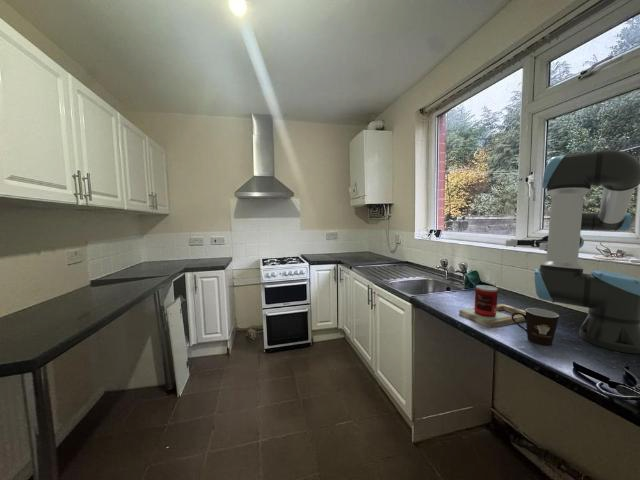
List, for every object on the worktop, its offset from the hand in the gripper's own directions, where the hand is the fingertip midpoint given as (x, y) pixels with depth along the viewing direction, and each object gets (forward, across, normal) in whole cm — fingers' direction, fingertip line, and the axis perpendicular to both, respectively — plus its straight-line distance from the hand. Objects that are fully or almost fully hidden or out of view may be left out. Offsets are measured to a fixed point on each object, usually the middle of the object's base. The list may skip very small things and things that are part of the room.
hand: (522, 244), depth 112 cm
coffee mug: (+21, -19, -30) cm, 41 cm away
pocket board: (+13, 0, -30) cm, 33 cm away
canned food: (+20, 0, -28) cm, 34 cm away
